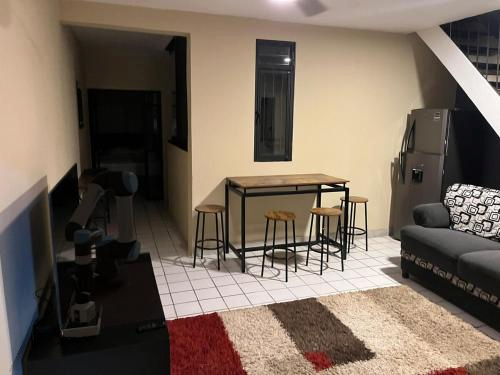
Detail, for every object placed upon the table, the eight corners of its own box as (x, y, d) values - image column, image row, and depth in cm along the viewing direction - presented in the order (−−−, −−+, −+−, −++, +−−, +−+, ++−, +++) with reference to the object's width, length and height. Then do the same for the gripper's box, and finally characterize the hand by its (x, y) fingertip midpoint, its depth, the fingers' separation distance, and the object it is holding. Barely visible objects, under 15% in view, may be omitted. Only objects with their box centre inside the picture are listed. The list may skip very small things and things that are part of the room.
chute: (70, 311, 194) (70, 304, 193) (102, 308, 198) (102, 301, 197) (62, 339, 171) (61, 330, 170) (98, 334, 175) (98, 326, 175)
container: (86, 324, 183) (85, 298, 181) (71, 322, 185) (70, 296, 182) (95, 316, 191) (94, 291, 188) (81, 314, 192) (79, 289, 190)
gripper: (67, 265, 183) (70, 312, 187) (97, 263, 187) (99, 309, 191) (70, 260, 190) (72, 304, 195) (98, 258, 194) (100, 302, 198)
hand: (85, 307), depth 193 cm, fingers closed
